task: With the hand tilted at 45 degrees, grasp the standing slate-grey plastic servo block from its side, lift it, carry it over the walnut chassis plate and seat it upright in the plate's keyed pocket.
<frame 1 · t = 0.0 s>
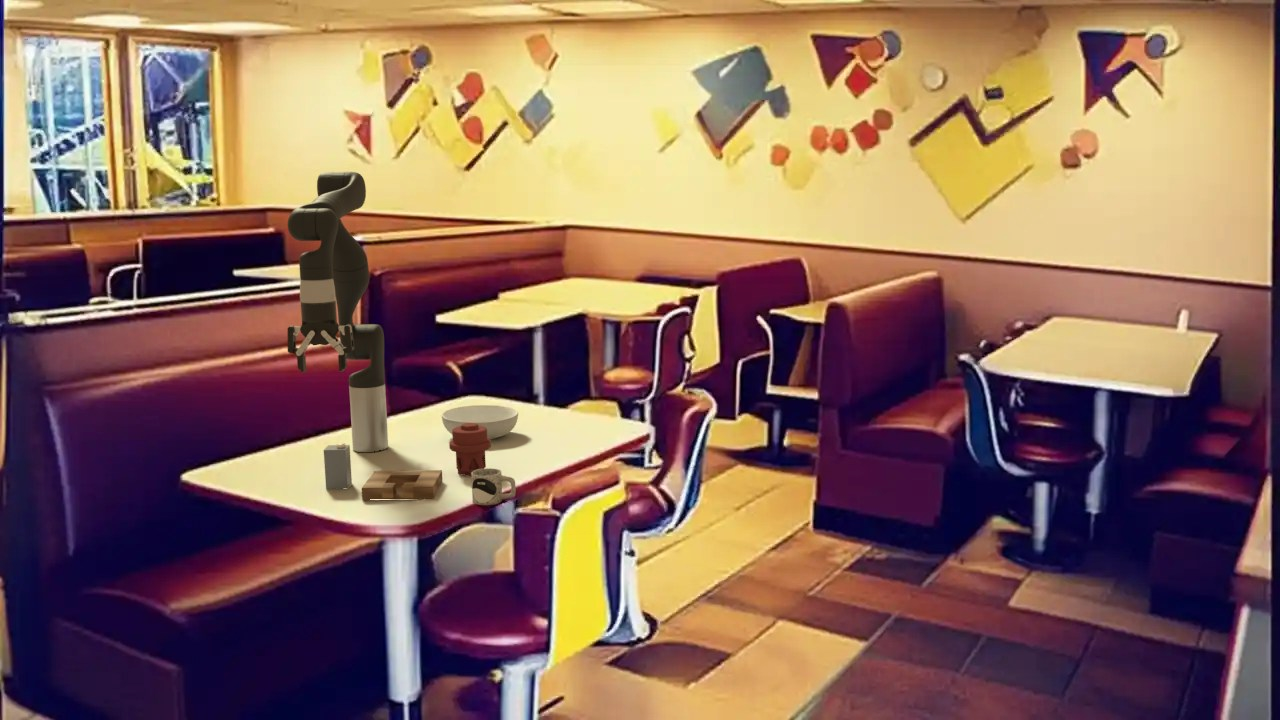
hand: (322, 371, 262), 29 cm above the table, tool pointing down, fingers open, 8 cm apart
mug: (494, 502, 263), on the table
chassis plate: (403, 491, 271), on the table
mechanical component: (471, 474, 285), on the table
serving bowl: (480, 437, 323), on the table
servo block: (339, 486, 276), on the table
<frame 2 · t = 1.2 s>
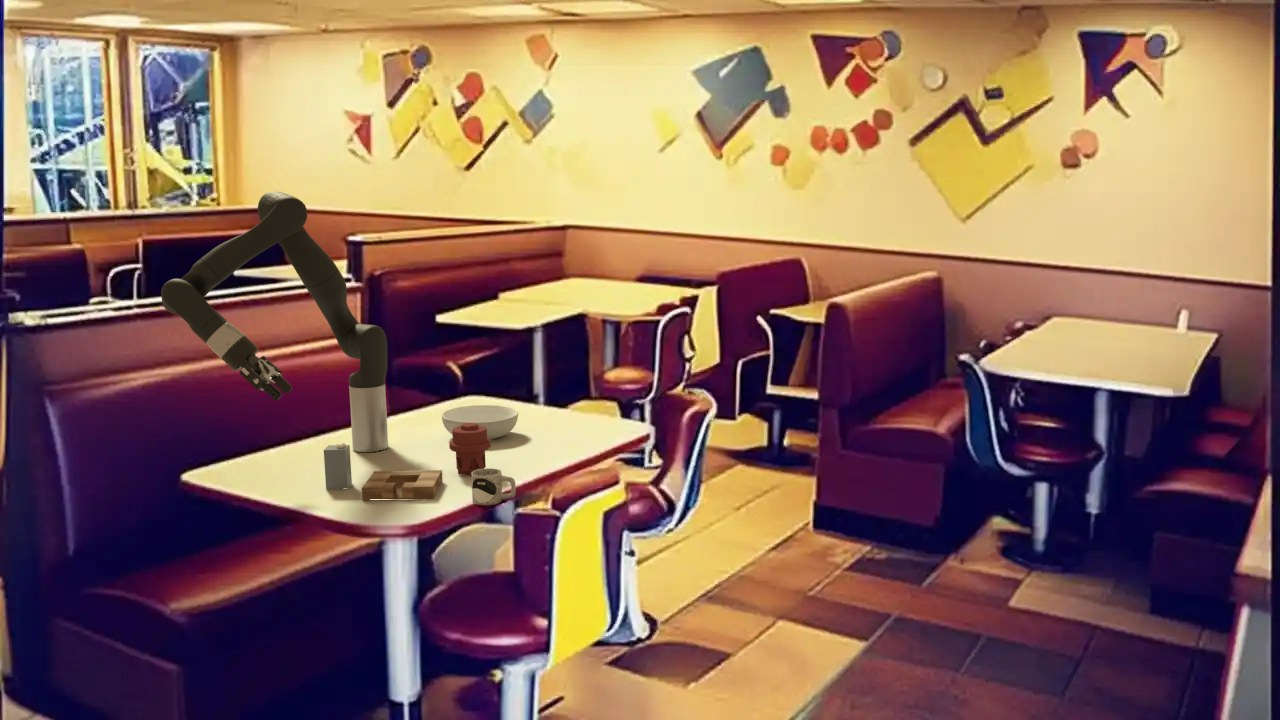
hand: (284, 394, 273), 22 cm above the table, tool tilted 45°, fingers open, 8 cm apart
nothing on the table moved.
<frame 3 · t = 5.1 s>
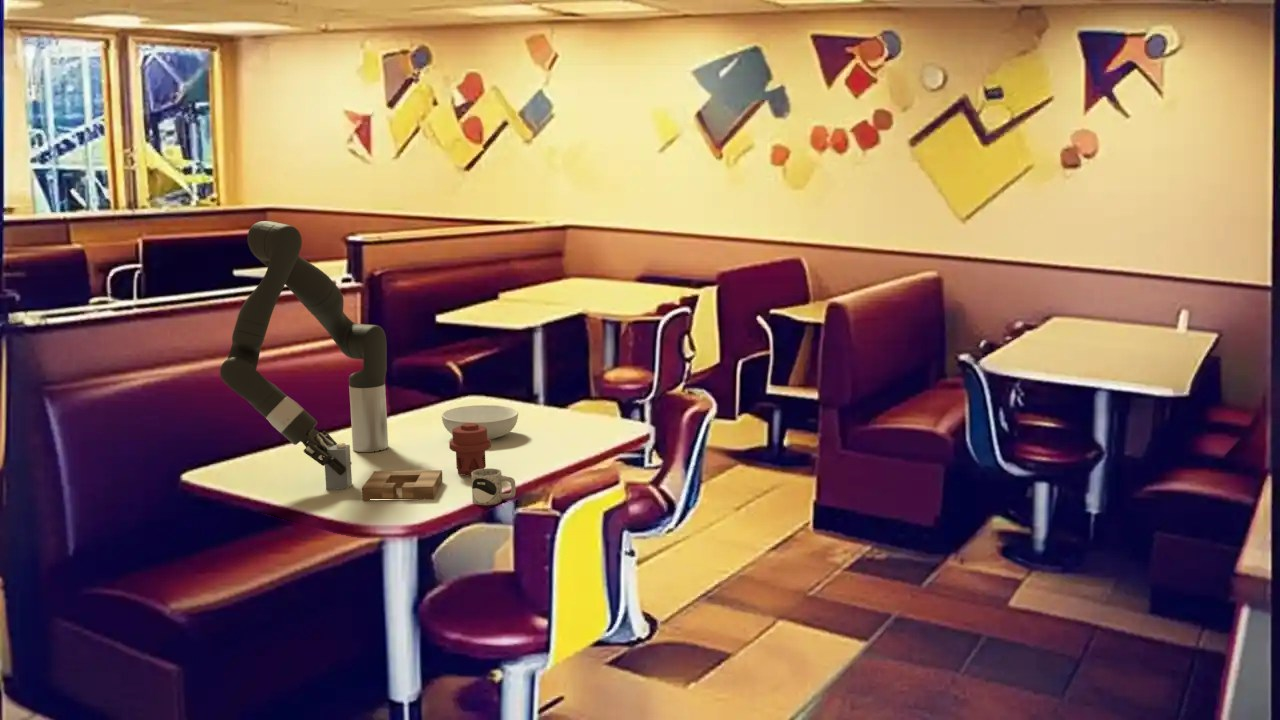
hand: (346, 469, 275), 4 cm above the table, tool tilted 45°, fingers closed on servo block, 4 cm apart
servo block: (339, 486, 276), on the table, touching gripper
everything else where it was.
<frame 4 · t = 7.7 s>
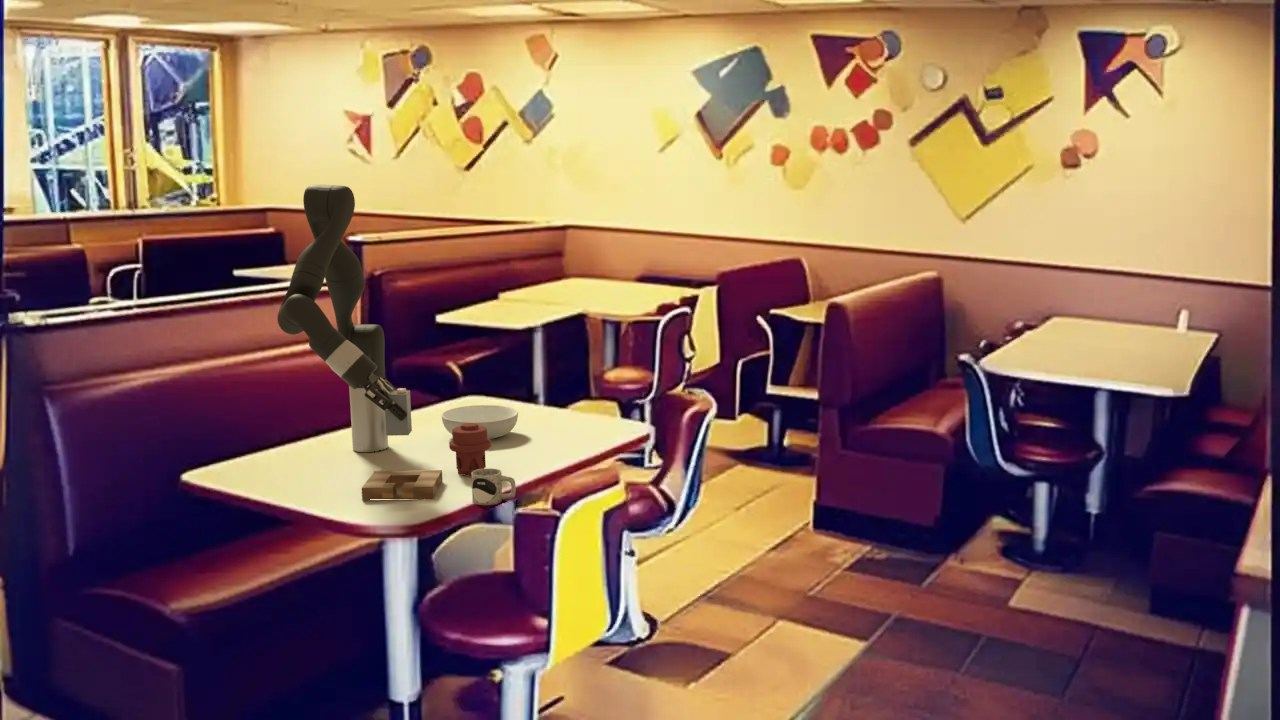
hand: (406, 415, 268), 18 cm above the table, tool tilted 45°, fingers closed on servo block, 4 cm apart
servo block: (399, 433, 269), point 14 cm above the table, touching gripper
everything else where it was.
when the fingers open (6 cm above the table, at t = 10.3 s): servo block drops 1 cm, resting on chassis plate.
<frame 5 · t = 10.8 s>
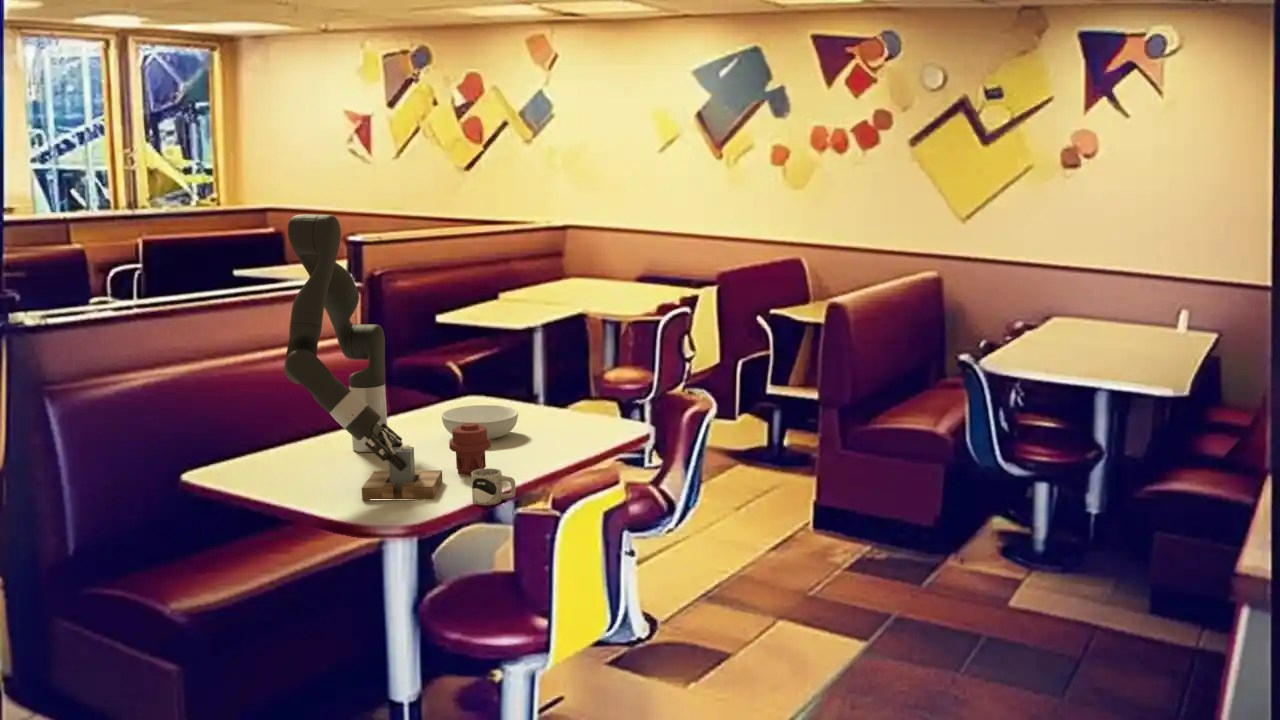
hand: (407, 463, 270), 7 cm above the table, tool tilted 45°, fingers open, 8 cm apart
servo block: (403, 489, 271), resting on chassis plate
everything else where it was.
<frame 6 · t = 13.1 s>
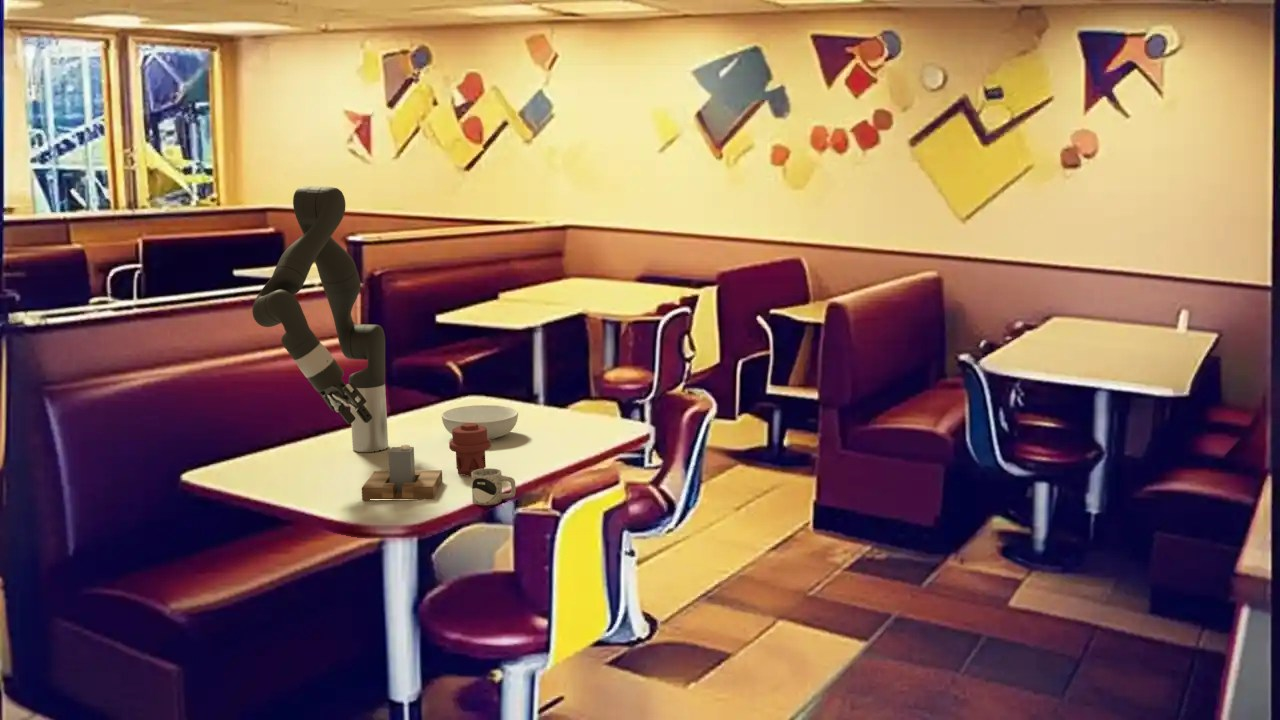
hand: (360, 421, 273), 16 cm above the table, tool tilted 30°, fingers open, 8 cm apart
nothing on the table moved.
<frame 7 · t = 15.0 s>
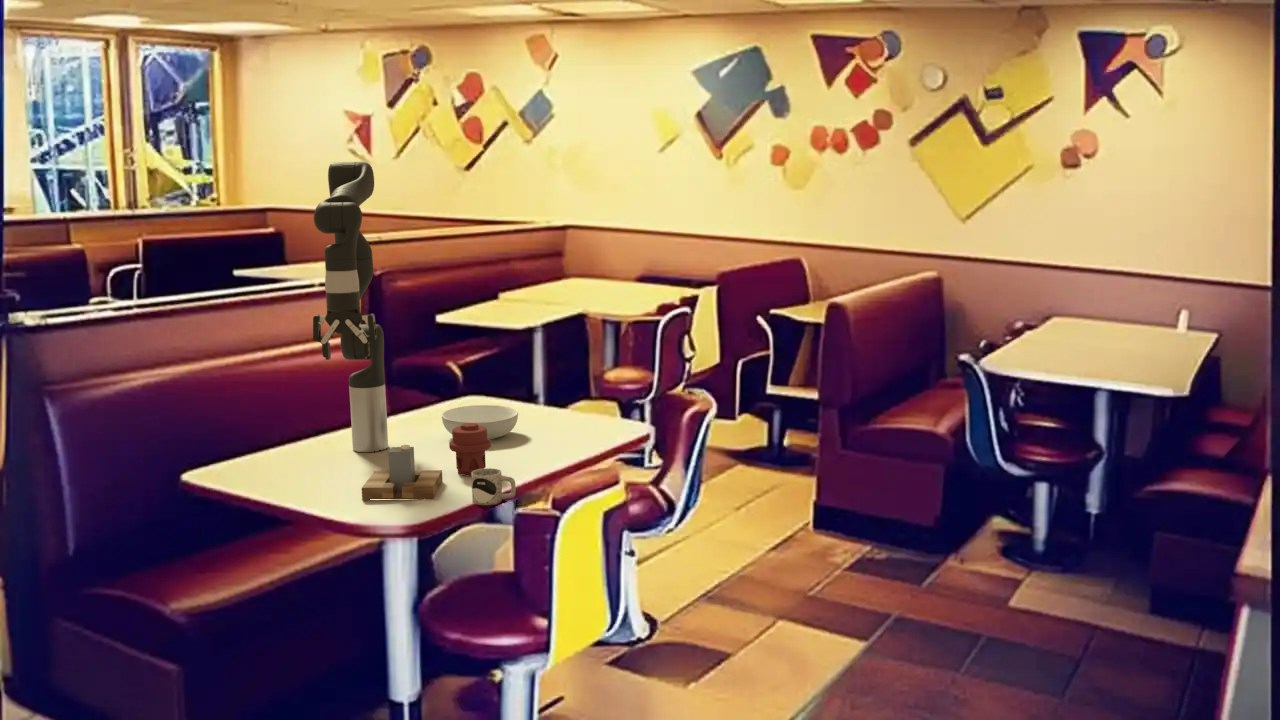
hand: (346, 359, 273), 30 cm above the table, tool pointing down, fingers open, 8 cm apart
nothing on the table moved.
at the end: servo block 0.1 cm off-centre on the chassis plate, point 0.5 cm above the chassis plate's base; servo block tilted 0°; the gripper is holding nothing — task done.
